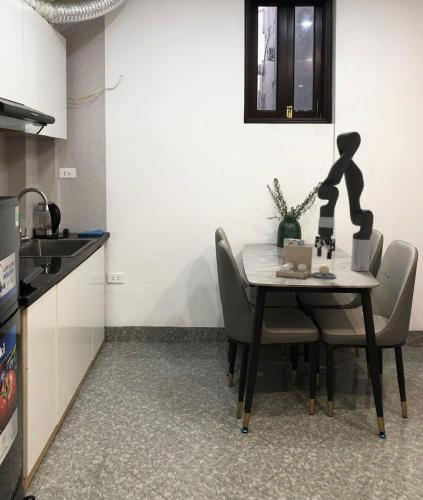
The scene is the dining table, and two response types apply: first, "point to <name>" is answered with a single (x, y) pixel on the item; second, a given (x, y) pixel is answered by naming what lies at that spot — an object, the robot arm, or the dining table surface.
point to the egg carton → (297, 261)
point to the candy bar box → (292, 244)
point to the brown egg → (324, 270)
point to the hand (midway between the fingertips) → (324, 257)
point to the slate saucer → (328, 276)
